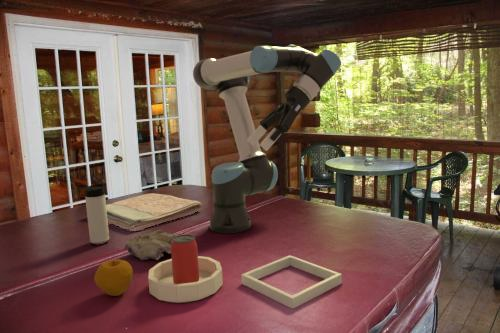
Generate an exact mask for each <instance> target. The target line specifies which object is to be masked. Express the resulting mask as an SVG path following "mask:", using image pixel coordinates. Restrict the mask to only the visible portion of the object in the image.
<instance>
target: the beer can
mask: <svg viewBox="0 0 500 333" xmlns="http://www.w3.org/2000/svg"><path fill="white" fill-rule="evenodd" d="M177 235H178V236H175V237H174V238H173V239H172V240H173V241H172V244H171V253H170V256H171V259H172V270H173V282H174V284H183V283H192V282H197V281H199V267H198V256H199V253H198V243H197V241H196V239H195V236H194V235H192V234H184V233H183V234H177Z"/></svg>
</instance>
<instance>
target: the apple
mask: <svg viewBox="0 0 500 333" xmlns="http://www.w3.org/2000/svg"><path fill="white" fill-rule="evenodd" d="M93 280H94V283H95V285H96V286H97V287H98V288H99V289H101V291H103V292H104V293H105V294H107V295H109V296H111V297H118V296H121V295H123V294H124V293H125V292H126V291H127V289H128V288H129V287H130V284H131V282H132V280H133V267H132V266H131V264H130V263H129V262H128V261H126V260H123V259H111V260H106V261H104V262H103V263H101V264H100V265H99V266H98V268H97V269H96V271H95V273H94V278H93Z"/></svg>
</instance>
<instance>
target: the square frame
mask: <svg viewBox="0 0 500 333" xmlns="http://www.w3.org/2000/svg"><path fill="white" fill-rule="evenodd" d="M290 266H291V267H294V268H296V269H298V270H301V271H304V272H306V273H308V274H312V275H314V276H316V277H319V278H321V279H323V280H321V281H319V282H317V283H314V284H313V285H310V286H309V287H307V288H305V289H302V290H301V291H299V292H297V293H295V294H290V293H288V292H286V291H283V290H282V289H279V288H277V287H275V286H273V285H270V284H268V283H266V282H264V281H262V280H259V279H261V278H262V279H263V278H265V277H267V276H268V275H271V274H273V273H276V272H278V271H280V270H283V269H286V268H287V267H290ZM240 277H241V285H244V286H246V287H248V288H250V289H252V290H254V291H255V292H258V293H259V294H262V295H264V296H266V297H268V298H270V299H272V300H274V301H276V302H278V303H280V304H282V305H285V306H286V307H288V308H290V309H292V310H293V309H295V308H297V307H299V306H301V305H303V304H305V303H306V302H309V301H310V300H313V299H315V298H316V297H318V296H320V295H322V294H324V293H326V292H328V291H329V290H332V289H334V288H335V287H337V286H340V285H341V284H343V274H342V273H340V272H337V271H334V270H331V269H329V268H326V267H324V266H321V265H319V264H315V263H313V262H310V261H307V260H305V259H301V258H298V257H296V256H294V255H290V254H289V255H287V256H284V257H281V258H279V259H277V260H274V261H272V262H269V263H267V264H263V265H262V266H259V267H257V268H253V269H252V270H249V271H247V272H244V273H242V274H241V276H240Z"/></svg>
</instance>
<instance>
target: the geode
mask: <svg viewBox="0 0 500 333" xmlns="http://www.w3.org/2000/svg"><path fill="white" fill-rule="evenodd" d="M178 235H179V234H176V233H175V232H174V233H169V232H167V231H163V229H158V230H154V231H151V232H147V233H144V234H141V235H136V236H133V237H130V238H129V239H128V240H127V241H126V242H125V246H124V250H125V251H127V252H128V254H130V256H134V257H136V258H139V260H140V261H143V260H144V261H146V260H150V259H152V260H156V261H159V260H160V259H161V257H164V254H163V253H165V254H170V255H171V244H172V241H173V240H172V239H173V238H174V237H175V236H178Z"/></svg>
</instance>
